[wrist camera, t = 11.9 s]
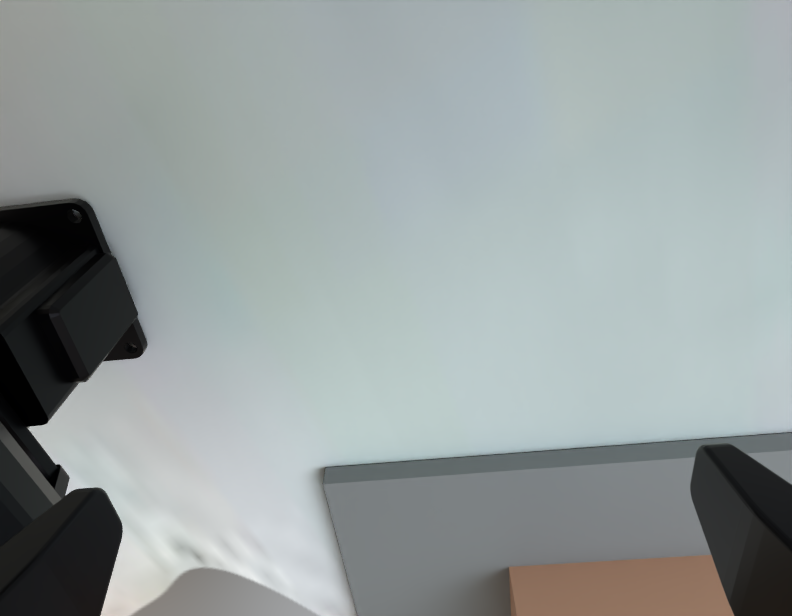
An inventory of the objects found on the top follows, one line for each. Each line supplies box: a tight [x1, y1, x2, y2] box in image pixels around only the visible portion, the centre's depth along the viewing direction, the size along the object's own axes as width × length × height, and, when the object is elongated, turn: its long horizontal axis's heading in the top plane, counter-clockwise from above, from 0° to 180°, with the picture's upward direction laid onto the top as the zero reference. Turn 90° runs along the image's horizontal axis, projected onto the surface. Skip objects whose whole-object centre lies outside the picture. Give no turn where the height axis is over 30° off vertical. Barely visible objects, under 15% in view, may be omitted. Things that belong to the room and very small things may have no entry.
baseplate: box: [323, 433, 792, 616], centre depth 30 cm, size 22×18×1 cm
